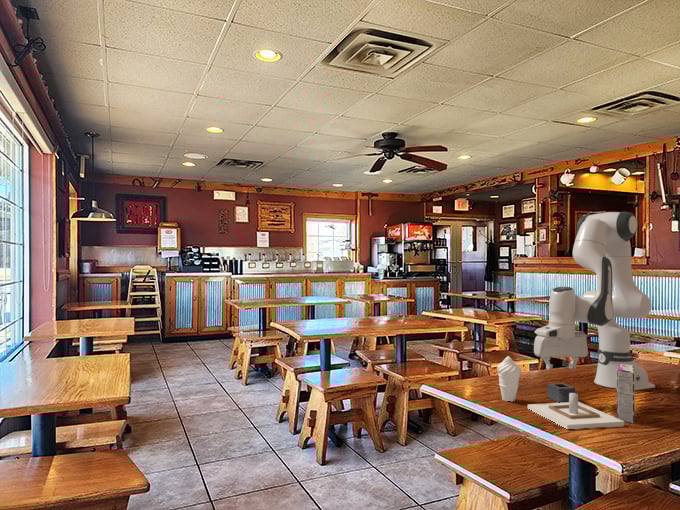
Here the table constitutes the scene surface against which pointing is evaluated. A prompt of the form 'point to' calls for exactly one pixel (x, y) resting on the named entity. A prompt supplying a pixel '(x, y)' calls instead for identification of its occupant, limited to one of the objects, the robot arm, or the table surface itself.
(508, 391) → the soft serve ice cream cone
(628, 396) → the candy bar box
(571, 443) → the table surface
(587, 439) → the table surface
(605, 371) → the robot arm
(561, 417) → the post board
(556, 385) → the grey square tube
